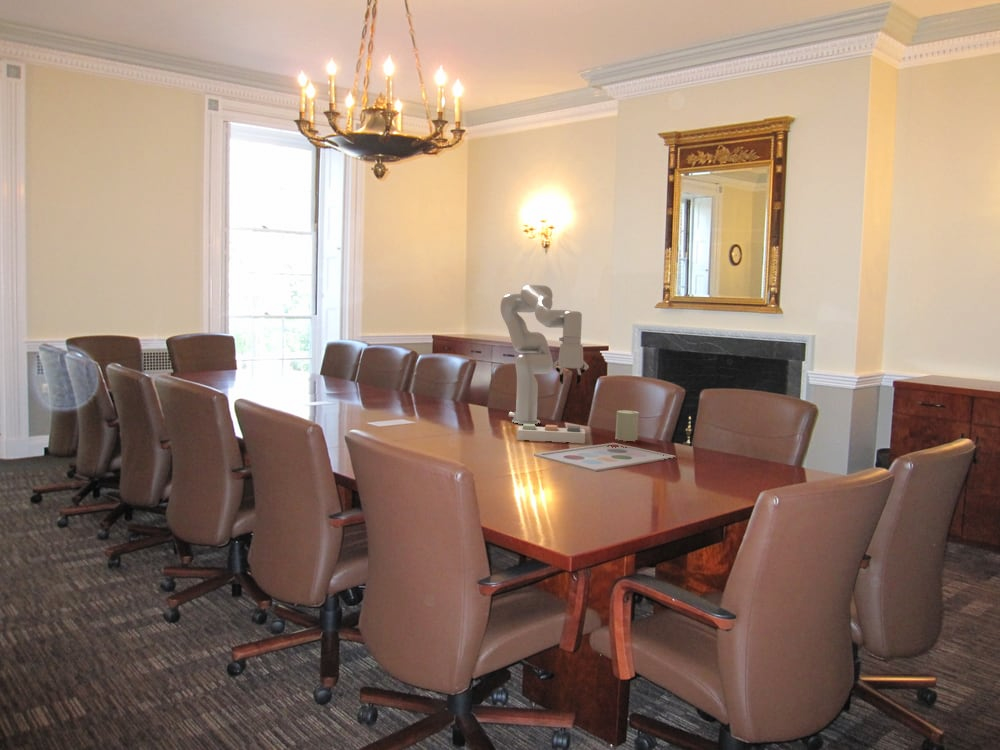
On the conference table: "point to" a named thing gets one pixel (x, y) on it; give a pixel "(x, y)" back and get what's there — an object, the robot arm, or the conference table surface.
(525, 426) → the sage button
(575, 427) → the charcoal button
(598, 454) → the dotted sorting mat
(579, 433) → the button strip
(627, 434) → the can
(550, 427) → the terracotta button
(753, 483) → the conference table surface
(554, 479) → the conference table surface
